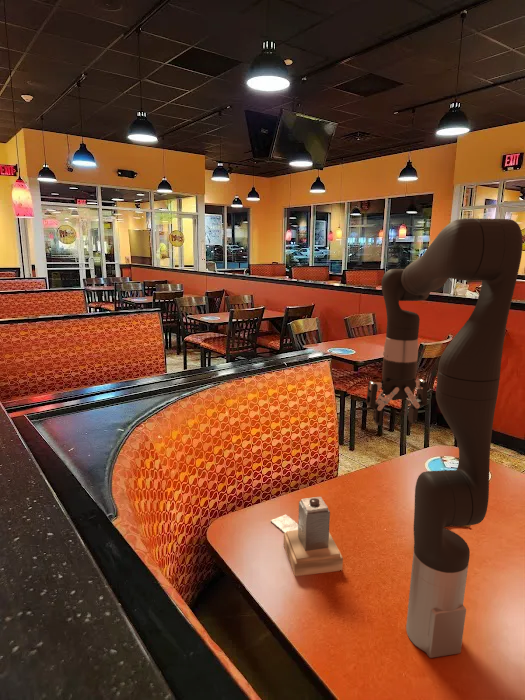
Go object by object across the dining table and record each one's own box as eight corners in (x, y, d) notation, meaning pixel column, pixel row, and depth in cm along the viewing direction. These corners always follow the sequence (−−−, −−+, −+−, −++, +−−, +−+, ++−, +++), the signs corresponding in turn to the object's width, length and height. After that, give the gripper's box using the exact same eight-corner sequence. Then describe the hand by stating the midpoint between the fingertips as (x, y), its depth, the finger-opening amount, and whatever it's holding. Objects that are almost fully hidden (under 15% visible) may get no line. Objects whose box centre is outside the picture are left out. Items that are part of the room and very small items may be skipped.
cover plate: (302, 530, 117) (302, 527, 117) (286, 537, 114) (286, 534, 114) (285, 517, 123) (285, 514, 123) (270, 523, 120) (270, 520, 120)
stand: (342, 570, 102) (343, 554, 101) (294, 576, 100) (295, 560, 99) (326, 539, 113) (327, 525, 112) (283, 544, 111) (283, 530, 110)
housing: (328, 547, 104) (330, 506, 101) (305, 551, 103) (306, 509, 100) (319, 533, 109) (321, 493, 107) (297, 536, 108) (299, 495, 105)
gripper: (378, 362, 100) (373, 431, 103) (437, 359, 102) (430, 427, 106) (364, 354, 107) (360, 419, 111) (420, 352, 110) (414, 415, 113)
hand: (395, 423), depth 108 cm, fingers open, 8 cm apart
